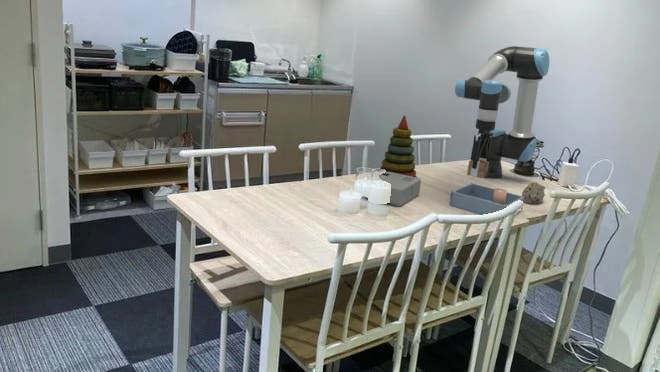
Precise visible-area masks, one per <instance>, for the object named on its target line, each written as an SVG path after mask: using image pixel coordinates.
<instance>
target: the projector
mask: <svg viewBox="0 0 660 372" xmlns="http://www.w3.org/2000/svg"><path fill="white" fill-rule="evenodd" d="M379 178H380V179H381V180H383V181H386V182H388V183H390V184H391V196H390V204H389V205H392V206H396V207H399V208H400V207H402V206H404V205H405V204H406V203H408V202H410V201H411V200H413V199H415V198H416V197H418V196H419V194H420V191H421V182H422V179H421V178H419V177H418V178H415V177H411V176H406V175H402V174H397V173H393V172H385V173H383V174H381V175H379Z"/></svg>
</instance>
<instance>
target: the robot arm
mask: <svg viewBox="0 0 660 372" xmlns="http://www.w3.org/2000/svg"><path fill="white" fill-rule="evenodd" d="M549 68H550V54H549V52H548V50H546V49H543V48H538V47H526V46H517V45H513V46H508V47H504V48H501V49H500V50H497V51H496V52H494V53H493V54H492V55H490V56H489V58H488V60H487V62H486V63H484V65H482V67H480V68H479V69H478V70H477V71H476V72H475V73H474V74H473V75H471V77H469V78H468V79H459V80H458V81H457V82H456V84H455V86H454V87H455V88H454V93H455V95H456V97H458V98H461V99H467V100H474V101H475V100H476V101H479V104H478V109H477V119H476V121H475V129H477V130H478V133H477V135H474V137H473V142H472V143H473V144H472V149H471V154H470V160H473V162H472V168H471V174H470V175H471V176H470V175H469V176H470V177H474V176H475V177H474V178H478V177H477V174H478V168H479V163H480V161H479V160H483V161H487V162H489V165H488V171H487V176H485V177H484V178H487V179H500V178H502V177H503V167H502V158H503V159H504V158H505V159H509V160H513V161H514V160H515V161H518V162H525V163H526V162H529V161H530V160H531V159H532V157H533V155H534V154H535V151H536V149H537V144H538V141H537V139H535V138H534V136H535V135H534V133H533V132H532V127H533V121H534V114H535V107H536V103H537V102H536V101H537V95H538V88H539V83H540V81H542V80H543V78H544V77H546V76H547V74H548V72H549ZM504 72H511V73H516V78H517V80H518V87H517V96H516V103H515V109H514V115H513V116H514V117H513V123H512V129H511V130H510V131H508V133H507V130H505V129H497V128H496V123H497V122H496V120H497V117H498V110H499V105H500V104H504V103H505V102H508V101H509V100H510V98H511V95H512V94H511V93H512V92H511V88H510V87H509V86H508V85H506V84H503V83H502V82H501V81H498V80H494V79H495V78H496V77H497V76H499V74H503V73H504ZM495 128H496V129H495Z"/></svg>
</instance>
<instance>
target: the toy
mask: <svg viewBox="0 0 660 372" xmlns="http://www.w3.org/2000/svg"><path fill="white" fill-rule="evenodd" d="M411 135H412V129H411V128H409V125H408V122H407V118H406V115H403V116H402V118H401V121H400V122H399V124H398V126H397V127H394V128H393V129H392V136H390V139H389V143H388V145H387V151H385V153H384V157H385V158H384V159H383V160H382V161H381V166H380V168H379V170H380V169H385V170H386V172H393V173H397V174H402V175H406V176H411V177H415V178H419V177H417V171H416V170H415V169H416V164H415V162H414V161H415V159H416V158H415V155H414V154H413V153H414V151H415V148H414V146H412V145H413V142H414V140H413V137H411Z"/></svg>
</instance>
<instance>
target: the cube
mask: <svg viewBox="0 0 660 372" xmlns="http://www.w3.org/2000/svg"><path fill="white" fill-rule="evenodd" d="M479 161H480V163H479V168H478V174H477V177H475V176H473V178H479V179H482V178H485V176H487V171H488V165H489V162H487V161H483V160H479ZM472 162H473V160H471V159H470V160H469V161H468V166H467V171H466V176H470V177H472V176H471V175H470V174H471V168H472Z"/></svg>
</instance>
